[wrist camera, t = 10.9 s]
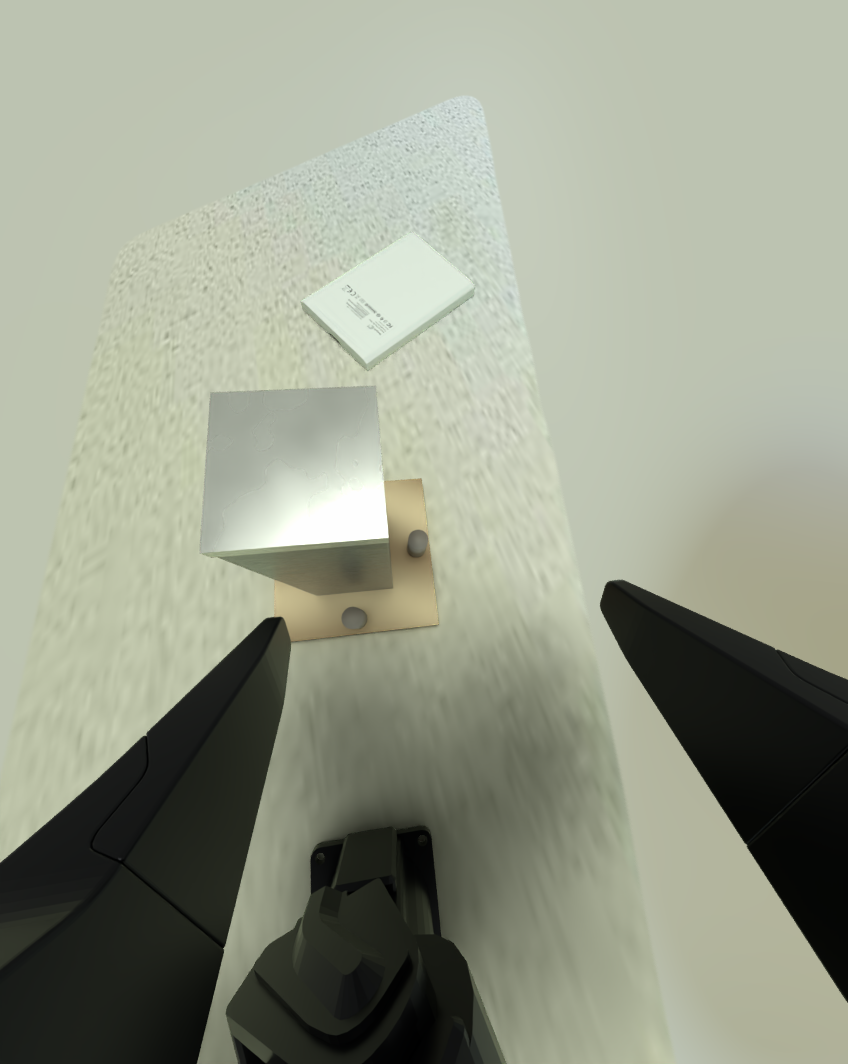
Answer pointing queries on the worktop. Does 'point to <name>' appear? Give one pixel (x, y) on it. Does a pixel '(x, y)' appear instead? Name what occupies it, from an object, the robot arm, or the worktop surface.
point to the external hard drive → (388, 299)
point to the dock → (374, 608)
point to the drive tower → (298, 488)
